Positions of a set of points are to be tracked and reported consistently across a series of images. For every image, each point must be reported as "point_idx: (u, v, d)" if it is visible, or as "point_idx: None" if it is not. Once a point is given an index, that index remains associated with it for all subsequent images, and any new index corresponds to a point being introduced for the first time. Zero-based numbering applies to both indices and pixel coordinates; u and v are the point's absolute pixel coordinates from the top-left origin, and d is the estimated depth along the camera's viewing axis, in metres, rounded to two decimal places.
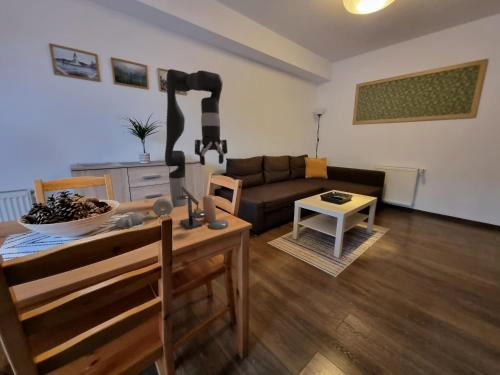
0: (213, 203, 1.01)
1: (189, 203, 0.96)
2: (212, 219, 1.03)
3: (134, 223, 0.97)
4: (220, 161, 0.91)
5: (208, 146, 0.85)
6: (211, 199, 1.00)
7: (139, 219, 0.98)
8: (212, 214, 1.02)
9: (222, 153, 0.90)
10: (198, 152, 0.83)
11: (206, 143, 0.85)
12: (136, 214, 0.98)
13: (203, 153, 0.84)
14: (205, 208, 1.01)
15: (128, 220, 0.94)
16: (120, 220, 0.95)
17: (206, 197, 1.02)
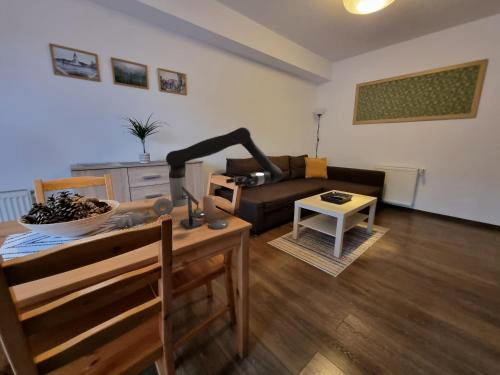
0: (213, 203, 1.01)
1: (189, 203, 0.96)
2: (212, 219, 1.03)
3: (134, 223, 0.97)
4: (228, 181, 1.13)
5: None
6: (211, 199, 1.00)
7: (139, 219, 0.98)
8: (212, 214, 1.02)
9: (233, 182, 1.15)
10: None
11: (247, 183, 1.12)
12: (136, 214, 0.99)
13: None
14: (205, 208, 1.01)
15: (128, 220, 0.95)
16: (120, 220, 0.95)
17: (206, 197, 1.02)
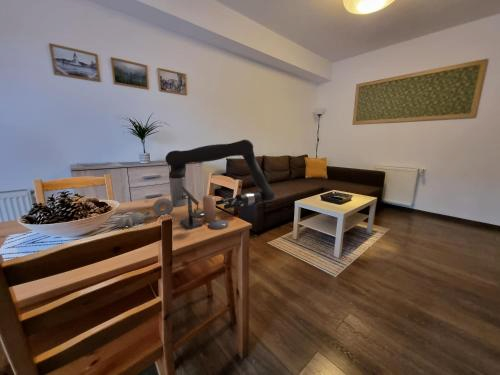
0: (213, 203, 1.01)
1: (189, 203, 0.96)
2: (212, 219, 1.03)
3: (135, 223, 0.98)
4: (218, 203, 1.11)
5: None
6: (211, 199, 1.00)
7: (139, 219, 0.99)
8: (212, 214, 1.02)
9: (223, 203, 1.14)
10: None
11: None
12: (136, 214, 0.99)
13: None
14: (205, 208, 1.01)
15: (129, 220, 0.95)
16: (121, 220, 0.95)
17: (206, 197, 1.02)
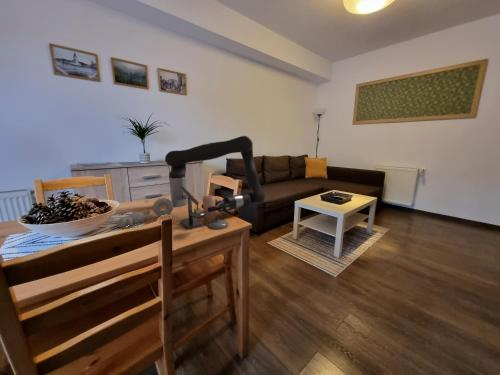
0: (213, 203, 1.01)
1: (189, 203, 0.96)
2: (212, 219, 1.03)
3: (135, 222, 0.98)
4: None
5: None
6: (211, 199, 1.00)
7: (140, 218, 0.99)
8: (212, 214, 1.02)
9: None
10: None
11: None
12: (137, 213, 0.99)
13: None
14: (205, 208, 1.01)
15: (129, 219, 0.95)
16: (121, 220, 0.95)
17: (206, 197, 1.02)
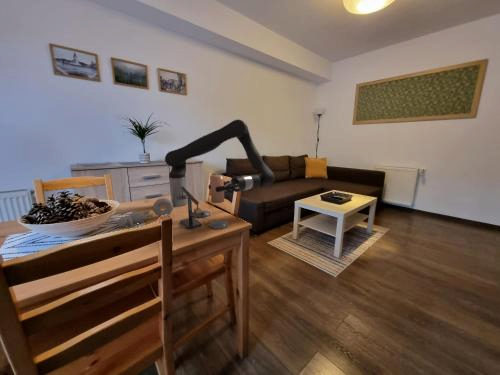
0: (221, 182, 0.94)
1: (189, 203, 0.96)
2: (220, 200, 0.95)
3: (135, 222, 0.98)
4: None
5: None
6: (219, 178, 0.92)
7: (140, 218, 0.99)
8: (220, 194, 0.94)
9: None
10: None
11: None
12: (137, 213, 0.99)
13: None
14: (213, 188, 0.93)
15: (129, 219, 0.96)
16: (121, 219, 0.96)
17: (213, 176, 0.94)
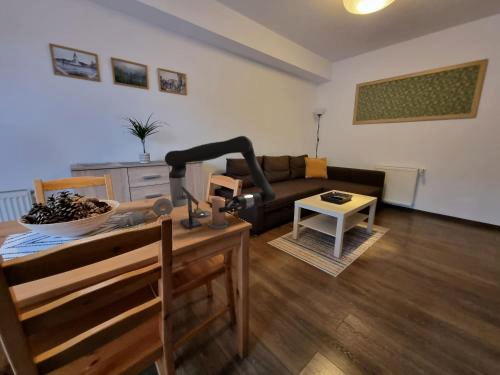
0: (223, 205, 0.95)
1: (189, 203, 0.96)
2: (221, 222, 0.96)
3: (135, 222, 0.99)
4: None
5: None
6: (221, 201, 0.93)
7: (140, 218, 1.00)
8: (221, 217, 0.95)
9: None
10: None
11: None
12: (137, 213, 1.00)
13: None
14: (214, 211, 0.94)
15: (130, 219, 0.96)
16: (122, 219, 0.96)
17: (215, 198, 0.95)
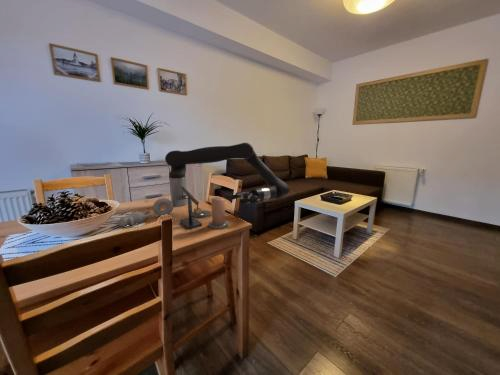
0: (223, 205, 0.94)
1: (189, 203, 0.96)
2: (221, 223, 0.96)
3: (136, 222, 0.99)
4: (233, 197, 1.07)
5: None
6: (221, 201, 0.93)
7: (140, 218, 1.00)
8: (221, 217, 0.95)
9: None
10: None
11: None
12: (137, 213, 1.00)
13: None
14: (214, 211, 0.94)
15: (130, 219, 0.96)
16: (122, 219, 0.96)
17: (215, 199, 0.95)
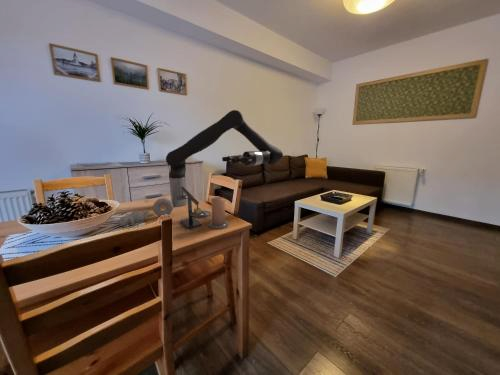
0: (223, 205, 0.94)
1: (189, 203, 0.96)
2: (221, 223, 0.96)
3: (136, 221, 0.99)
4: (224, 159, 1.05)
5: None
6: (220, 201, 0.93)
7: (141, 217, 1.00)
8: (221, 217, 0.95)
9: None
10: None
11: (244, 161, 1.05)
12: (137, 212, 1.00)
13: None
14: (214, 211, 0.94)
15: (131, 218, 0.97)
16: (122, 219, 0.96)
17: (214, 199, 0.95)
